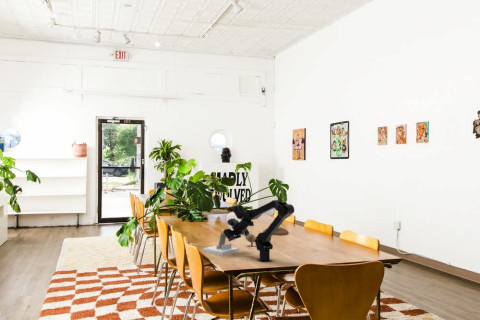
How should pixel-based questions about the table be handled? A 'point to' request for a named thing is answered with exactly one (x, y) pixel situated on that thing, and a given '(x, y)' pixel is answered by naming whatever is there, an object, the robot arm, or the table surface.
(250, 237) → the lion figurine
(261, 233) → the robot arm
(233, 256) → the table surface
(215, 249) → the switch plate
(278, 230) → the plant
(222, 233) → the lever
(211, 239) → the table surface
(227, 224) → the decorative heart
